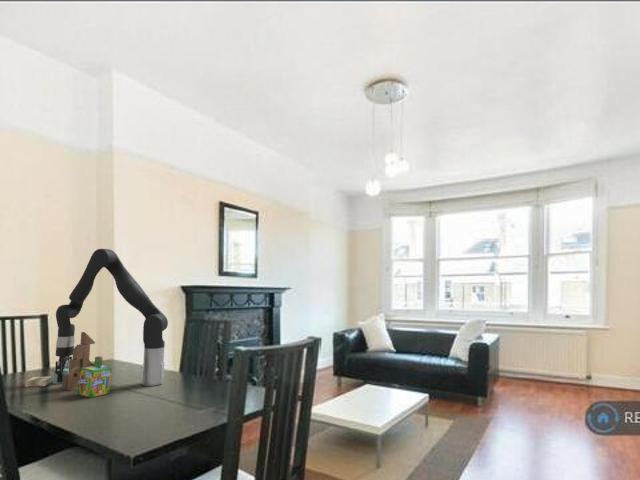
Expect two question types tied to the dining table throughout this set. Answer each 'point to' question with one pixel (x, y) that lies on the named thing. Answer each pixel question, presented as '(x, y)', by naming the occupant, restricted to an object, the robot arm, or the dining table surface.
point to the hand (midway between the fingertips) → (62, 380)
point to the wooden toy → (78, 363)
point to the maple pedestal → (38, 381)
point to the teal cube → (57, 375)
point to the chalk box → (95, 380)
